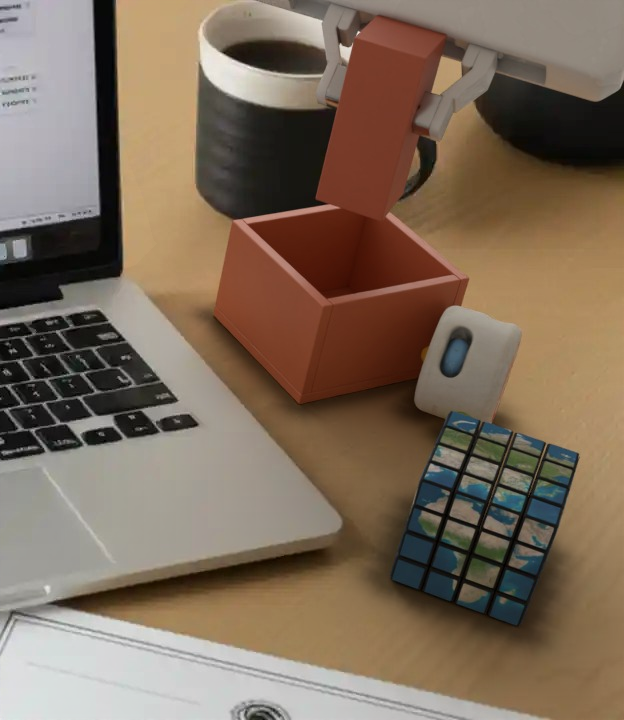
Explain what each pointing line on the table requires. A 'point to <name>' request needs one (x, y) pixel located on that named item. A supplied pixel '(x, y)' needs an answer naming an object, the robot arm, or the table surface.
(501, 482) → the puzzle
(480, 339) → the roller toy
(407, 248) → the terracotta bin
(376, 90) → the terracotta block
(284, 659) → the table surface
